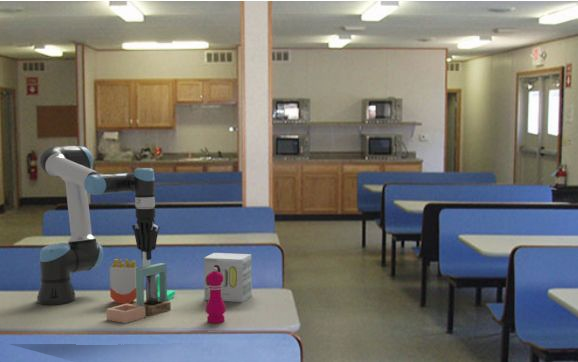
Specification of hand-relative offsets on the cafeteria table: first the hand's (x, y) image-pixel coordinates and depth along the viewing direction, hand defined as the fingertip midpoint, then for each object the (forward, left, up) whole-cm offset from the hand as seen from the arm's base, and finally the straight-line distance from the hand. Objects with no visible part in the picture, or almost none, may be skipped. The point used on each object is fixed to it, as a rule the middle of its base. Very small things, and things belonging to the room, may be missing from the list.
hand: (146, 267), depth 264 cm
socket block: (+2, 0, -17) cm, 17 cm away
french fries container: (-18, +5, -17) cm, 25 cm away
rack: (+2, -13, -17) cm, 22 cm away
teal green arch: (+2, 0, -17) cm, 17 cm away
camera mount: (-8, +16, -17) cm, 25 cm away
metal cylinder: (+2, 0, -17) cm, 17 cm away
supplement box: (+14, +33, -17) cm, 39 cm away
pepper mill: (+33, +2, -17) cm, 38 cm away
